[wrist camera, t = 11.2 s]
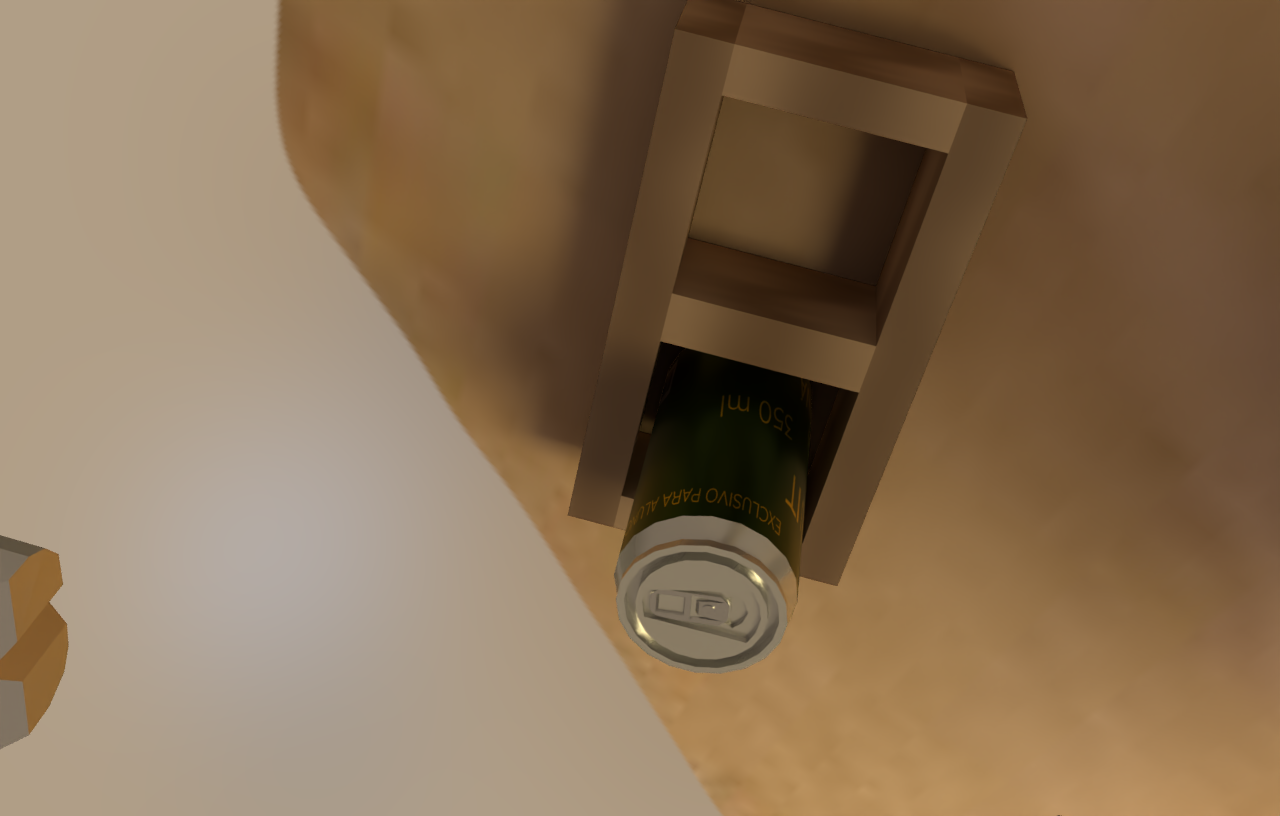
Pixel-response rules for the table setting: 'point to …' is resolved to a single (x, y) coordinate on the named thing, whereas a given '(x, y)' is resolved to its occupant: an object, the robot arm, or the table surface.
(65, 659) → the robot arm
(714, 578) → the beer can
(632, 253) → the shelf
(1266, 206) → the table surface
